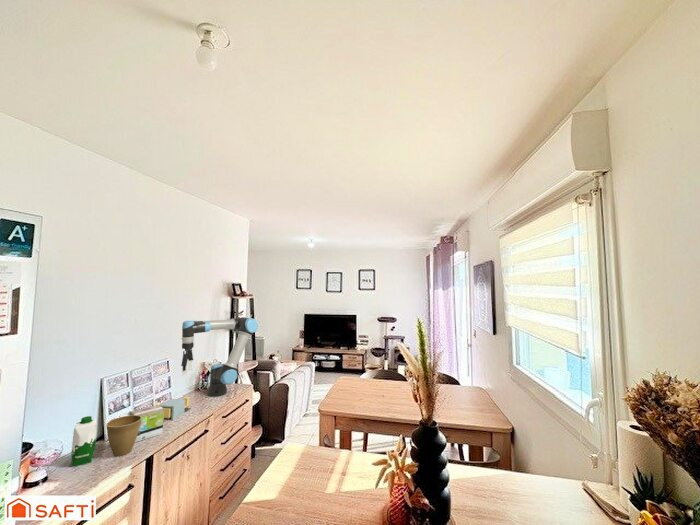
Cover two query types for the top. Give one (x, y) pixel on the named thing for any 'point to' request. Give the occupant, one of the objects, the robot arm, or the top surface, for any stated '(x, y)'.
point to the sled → (169, 410)
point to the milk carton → (84, 441)
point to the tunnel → (175, 407)
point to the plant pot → (123, 434)
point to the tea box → (149, 421)
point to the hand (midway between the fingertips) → (187, 372)
